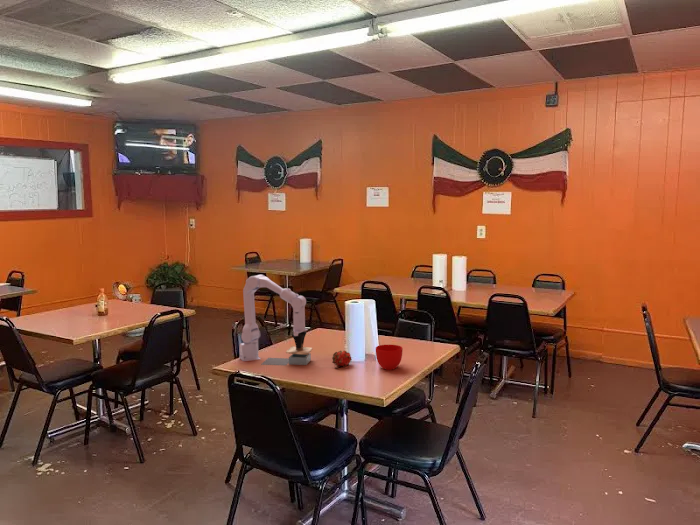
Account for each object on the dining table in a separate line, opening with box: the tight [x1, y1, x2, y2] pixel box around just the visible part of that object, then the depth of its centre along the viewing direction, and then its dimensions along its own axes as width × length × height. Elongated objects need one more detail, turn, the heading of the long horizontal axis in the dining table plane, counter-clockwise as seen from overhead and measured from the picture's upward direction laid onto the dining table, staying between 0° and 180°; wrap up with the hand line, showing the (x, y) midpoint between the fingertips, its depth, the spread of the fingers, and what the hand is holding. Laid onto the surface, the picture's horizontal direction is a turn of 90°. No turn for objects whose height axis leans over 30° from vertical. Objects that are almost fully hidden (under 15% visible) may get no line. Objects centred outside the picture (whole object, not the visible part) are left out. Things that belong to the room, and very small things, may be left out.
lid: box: [285, 343, 314, 355], centre depth 273 cm, size 11×11×4 cm
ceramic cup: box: [375, 344, 403, 371], centre depth 264 cm, size 13×17×10 cm
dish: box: [288, 352, 312, 366], centre depth 273 cm, size 9×9×4 cm
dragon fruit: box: [331, 350, 352, 368], centre depth 267 cm, size 8×8×12 cm
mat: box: [260, 357, 289, 366], centre depth 275 cm, size 13×13×1 cm
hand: (299, 347), depth 273 cm, fingers closed on lid, 4 cm apart
